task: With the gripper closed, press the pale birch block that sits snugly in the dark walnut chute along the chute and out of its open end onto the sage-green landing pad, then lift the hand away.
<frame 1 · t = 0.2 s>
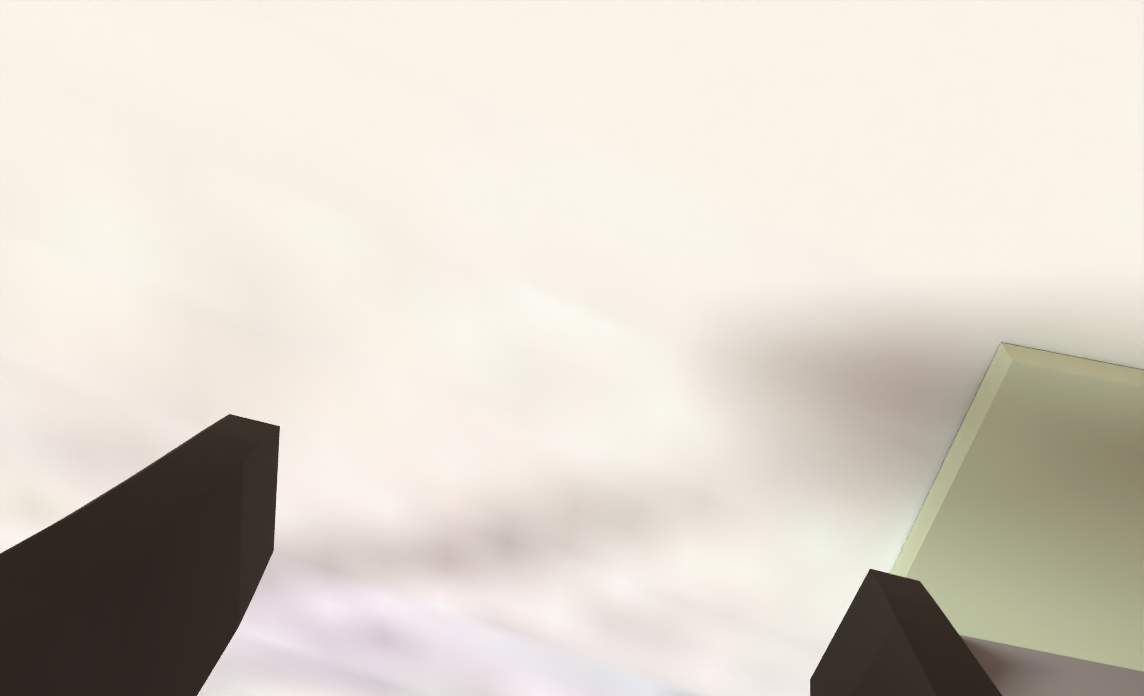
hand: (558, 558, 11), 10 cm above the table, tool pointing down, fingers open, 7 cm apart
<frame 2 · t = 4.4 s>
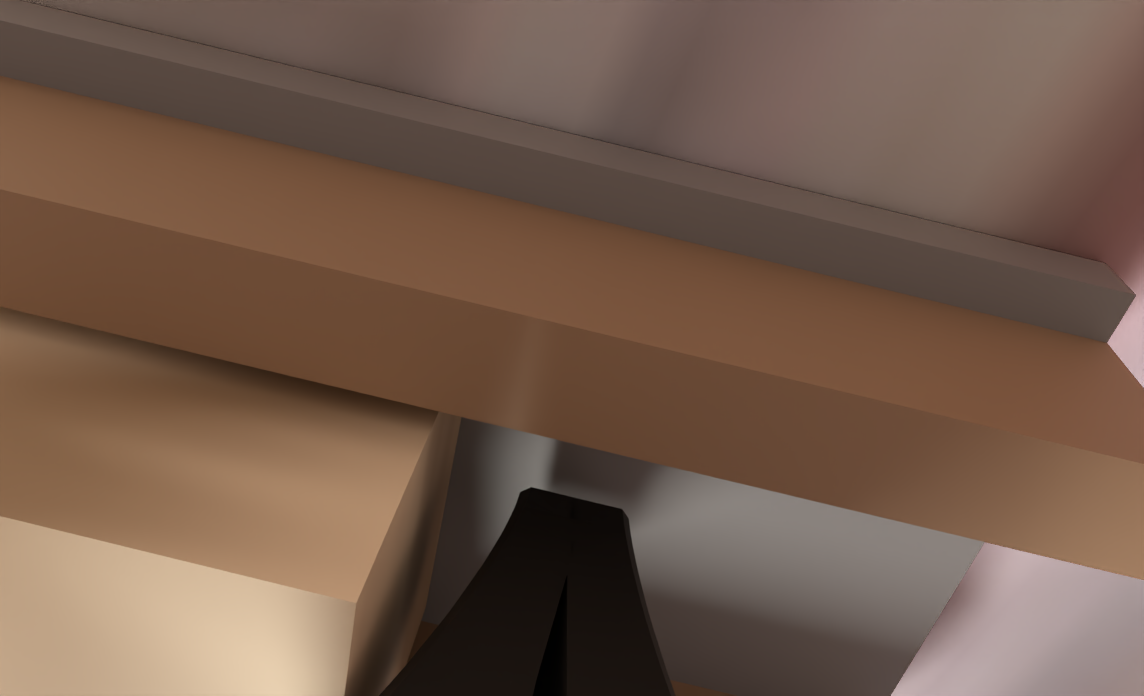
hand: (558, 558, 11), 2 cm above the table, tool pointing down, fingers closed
birch block: (263, 431, 12), point 1 cm above the table, touching gripper
chute: (166, 370, 12), on the table
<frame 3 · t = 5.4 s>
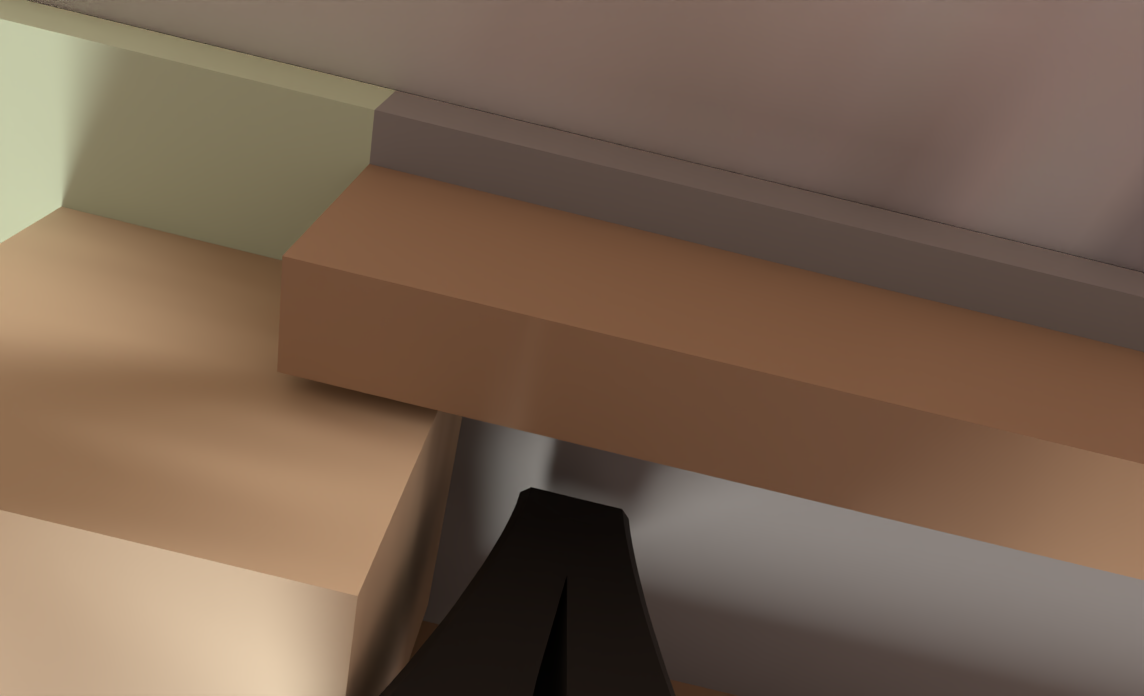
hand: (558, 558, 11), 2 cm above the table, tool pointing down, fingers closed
birch block: (265, 427, 12), point 1 cm above the table, touching gripper
chute: (571, 466, 12), on the table
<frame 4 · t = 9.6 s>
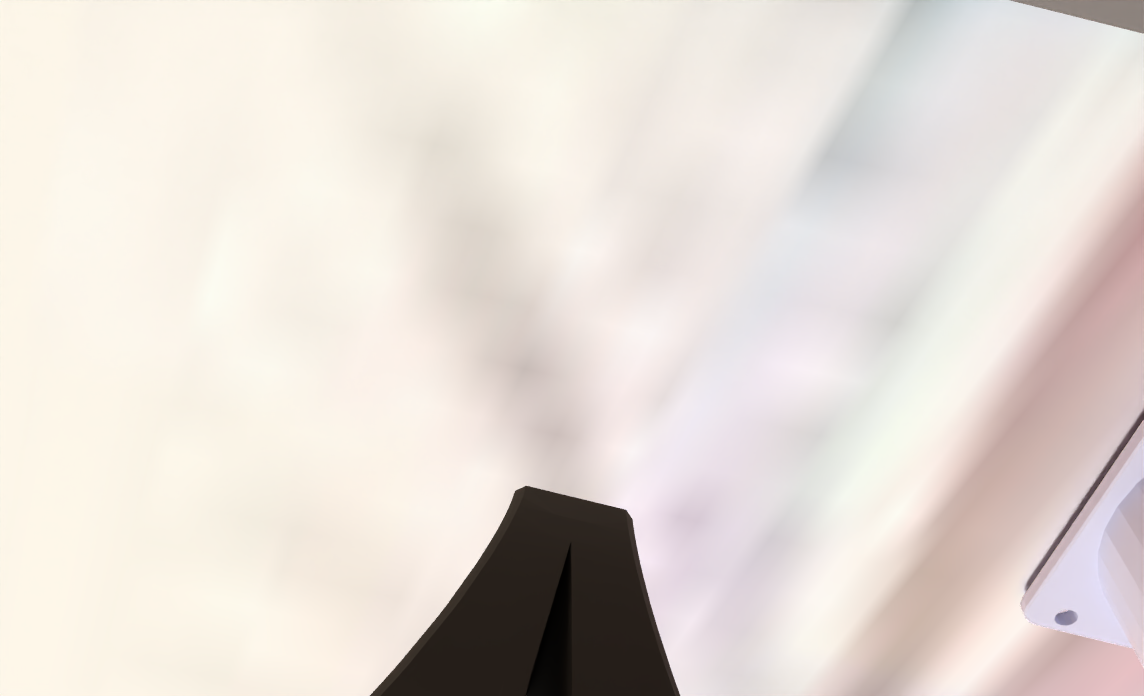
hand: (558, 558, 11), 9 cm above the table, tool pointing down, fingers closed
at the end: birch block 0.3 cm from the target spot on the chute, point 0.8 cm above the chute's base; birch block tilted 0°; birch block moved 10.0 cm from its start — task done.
